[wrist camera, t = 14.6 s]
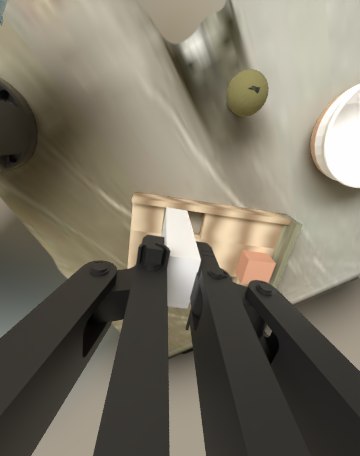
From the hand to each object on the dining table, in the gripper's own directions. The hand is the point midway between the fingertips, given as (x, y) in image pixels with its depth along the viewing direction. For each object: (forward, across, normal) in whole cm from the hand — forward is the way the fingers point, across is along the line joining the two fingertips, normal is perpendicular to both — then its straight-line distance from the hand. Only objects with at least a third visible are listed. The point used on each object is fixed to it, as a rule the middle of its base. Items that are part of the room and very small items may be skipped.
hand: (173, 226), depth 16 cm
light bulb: (+28, +9, +13) cm, 32 cm away
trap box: (+27, +10, -16) cm, 33 cm away
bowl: (+27, +30, +12) cm, 42 cm away
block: (+24, +21, -16) cm, 35 cm away
